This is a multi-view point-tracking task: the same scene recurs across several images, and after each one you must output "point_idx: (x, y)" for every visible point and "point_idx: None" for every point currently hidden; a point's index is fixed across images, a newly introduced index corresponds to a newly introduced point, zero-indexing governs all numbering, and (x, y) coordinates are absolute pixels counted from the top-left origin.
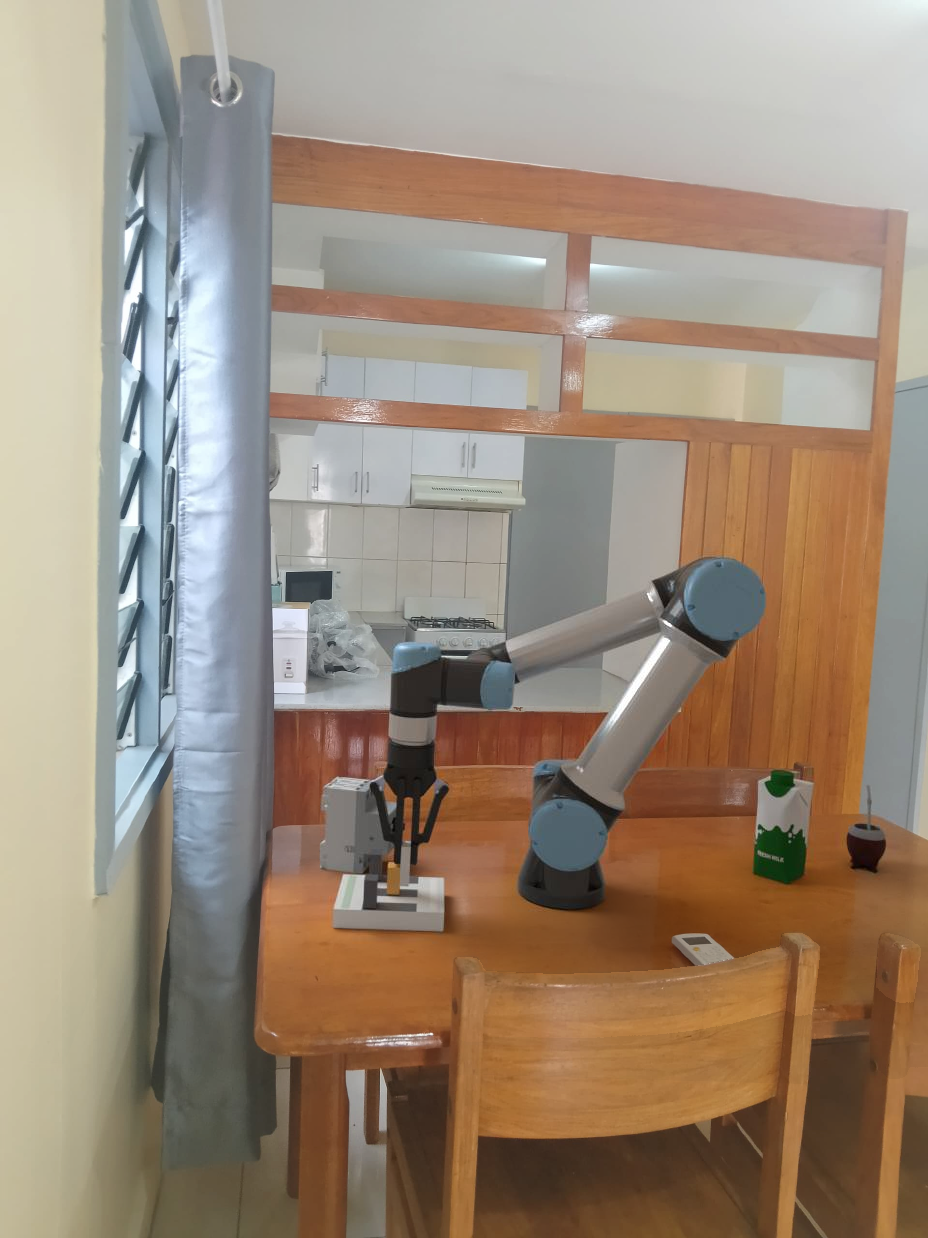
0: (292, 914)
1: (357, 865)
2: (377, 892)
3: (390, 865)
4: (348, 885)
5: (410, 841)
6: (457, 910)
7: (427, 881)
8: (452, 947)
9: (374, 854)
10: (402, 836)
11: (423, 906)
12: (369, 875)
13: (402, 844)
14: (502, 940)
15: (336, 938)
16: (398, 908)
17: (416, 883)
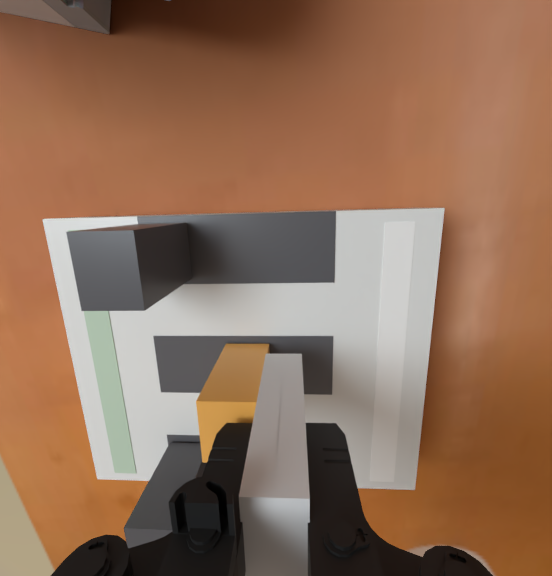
0: (9, 376)
1: (67, 12)
2: (198, 474)
3: (211, 438)
4: (90, 322)
5: (303, 502)
6: (451, 320)
7: (372, 256)
8: (412, 512)
9: (104, 307)
10: (232, 573)
11: (352, 454)
12: (142, 538)
13: (247, 557)
14: (546, 480)
15: (147, 481)
16: None
17: (328, 281)
